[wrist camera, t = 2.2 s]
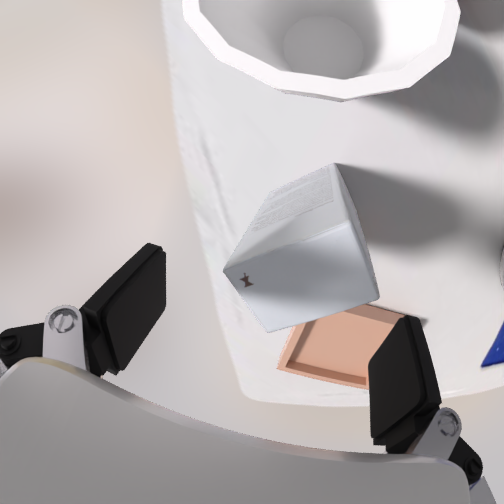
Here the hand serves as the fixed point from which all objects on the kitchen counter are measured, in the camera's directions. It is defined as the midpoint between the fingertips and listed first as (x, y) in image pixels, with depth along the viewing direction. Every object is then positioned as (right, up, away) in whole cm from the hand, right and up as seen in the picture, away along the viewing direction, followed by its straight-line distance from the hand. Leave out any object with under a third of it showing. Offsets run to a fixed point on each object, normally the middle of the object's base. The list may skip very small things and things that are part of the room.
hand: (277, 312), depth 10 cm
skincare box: (+4, +7, +12) cm, 14 cm away
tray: (+9, -7, +18) cm, 21 cm away
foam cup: (+4, +17, +6) cm, 19 cm away
